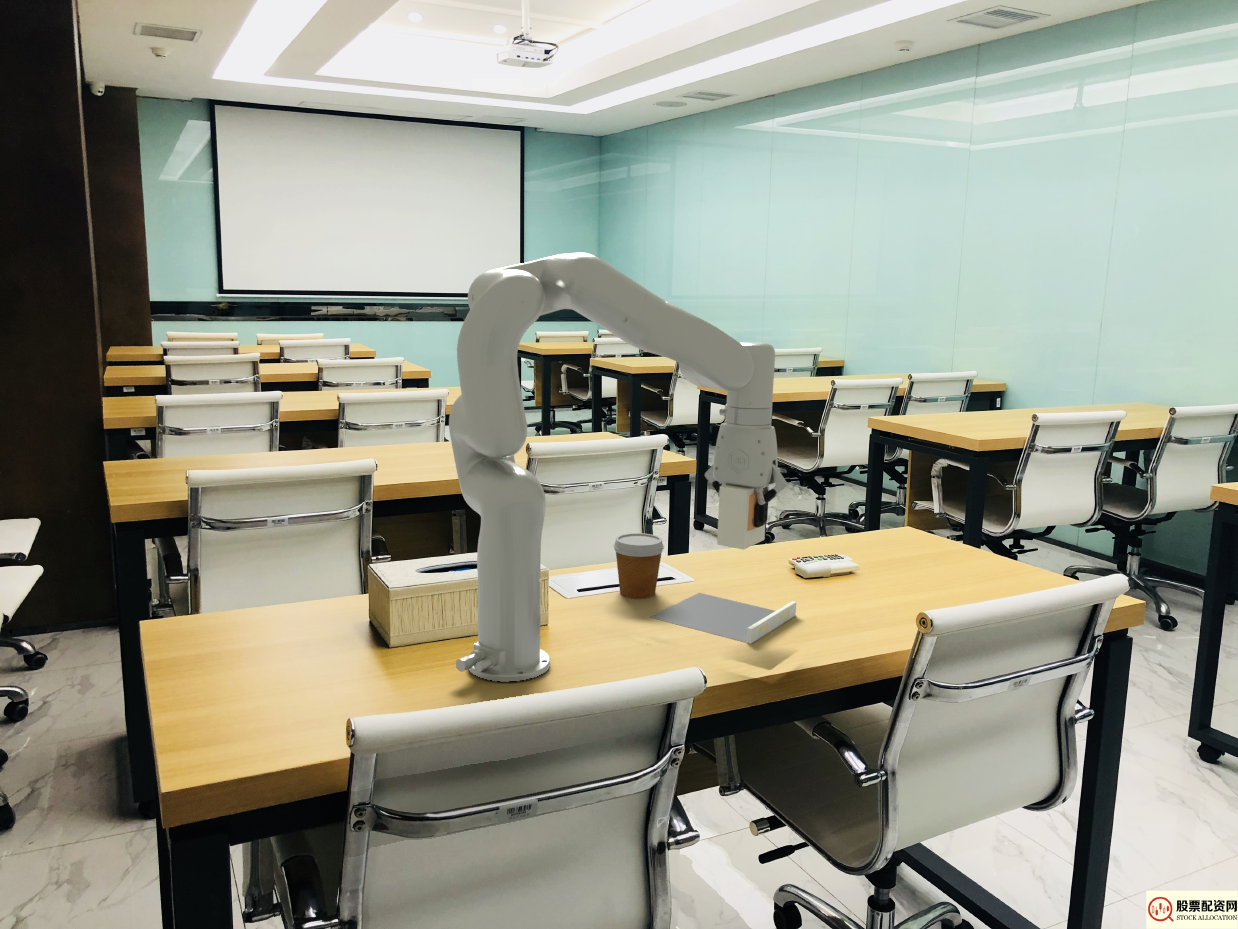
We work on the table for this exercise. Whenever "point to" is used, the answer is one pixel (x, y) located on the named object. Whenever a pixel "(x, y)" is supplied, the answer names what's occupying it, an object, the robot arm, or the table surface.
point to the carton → (738, 517)
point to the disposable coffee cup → (638, 564)
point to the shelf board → (727, 617)
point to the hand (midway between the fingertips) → (743, 522)
